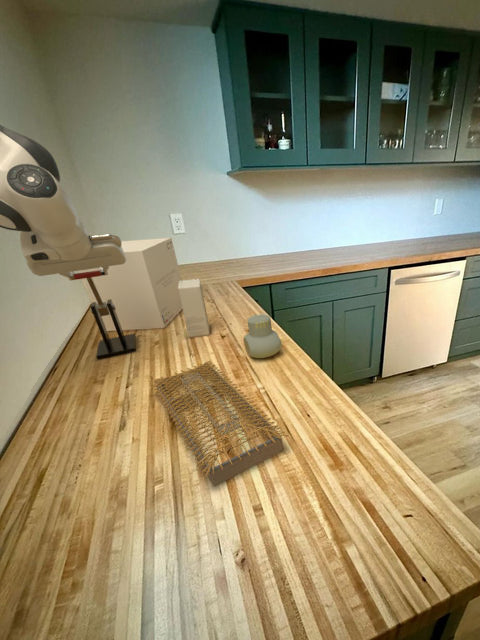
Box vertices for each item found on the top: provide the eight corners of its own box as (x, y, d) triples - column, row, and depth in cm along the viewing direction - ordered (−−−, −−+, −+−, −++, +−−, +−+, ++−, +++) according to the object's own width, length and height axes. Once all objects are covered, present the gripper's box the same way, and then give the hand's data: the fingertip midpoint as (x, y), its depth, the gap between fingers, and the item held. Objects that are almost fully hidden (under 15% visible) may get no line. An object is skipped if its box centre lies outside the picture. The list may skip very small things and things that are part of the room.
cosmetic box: (190, 328, 110) (178, 280, 102) (210, 325, 111) (200, 277, 103) (189, 338, 103) (176, 287, 95) (211, 334, 104) (200, 284, 96)
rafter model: (153, 394, 76) (145, 370, 73) (213, 372, 83) (208, 350, 80) (210, 493, 50) (201, 463, 47) (290, 451, 57) (287, 422, 54)
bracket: (136, 351, 97) (119, 305, 90) (97, 359, 94) (77, 312, 87) (135, 336, 106) (121, 294, 99) (101, 344, 103) (83, 300, 96)
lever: (99, 273, 85) (99, 268, 87) (73, 277, 83) (73, 271, 85) (117, 313, 95) (116, 308, 97) (93, 317, 93) (93, 312, 95)
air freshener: (285, 357, 87) (281, 321, 82) (254, 365, 84) (248, 328, 79) (271, 342, 96) (267, 308, 91) (243, 349, 93) (237, 314, 88)
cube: (164, 327, 112) (141, 250, 99) (102, 331, 113) (72, 255, 100) (187, 303, 133) (171, 237, 121) (135, 306, 134) (113, 241, 122)
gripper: (115, 222, 78) (129, 259, 91) (11, 233, 72) (42, 271, 85) (120, 244, 77) (134, 279, 90) (15, 258, 70) (46, 293, 83)
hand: (88, 275), depth 87 cm, fingers closed on lever, 6 cm apart
